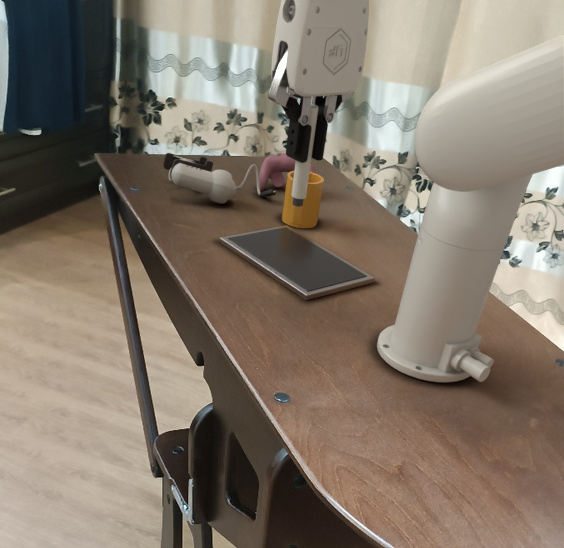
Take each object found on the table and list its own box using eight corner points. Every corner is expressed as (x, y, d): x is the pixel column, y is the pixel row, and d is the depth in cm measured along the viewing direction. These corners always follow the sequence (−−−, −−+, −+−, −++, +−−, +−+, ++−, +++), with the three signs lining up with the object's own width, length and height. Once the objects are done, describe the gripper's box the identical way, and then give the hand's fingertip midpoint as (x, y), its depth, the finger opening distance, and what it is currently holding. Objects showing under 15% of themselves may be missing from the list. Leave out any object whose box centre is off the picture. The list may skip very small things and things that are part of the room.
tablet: (373, 282, 103) (374, 276, 102) (305, 300, 96) (306, 294, 95) (286, 230, 113) (286, 224, 113) (219, 242, 106) (219, 236, 106)
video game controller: (312, 202, 128) (318, 160, 126) (312, 198, 124) (319, 155, 122) (257, 193, 128) (263, 151, 126) (256, 188, 124) (262, 145, 122)
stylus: (307, 206, 87) (321, 107, 80) (296, 208, 86) (310, 108, 79) (298, 201, 88) (311, 103, 81) (287, 203, 87) (299, 103, 80)
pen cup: (324, 225, 117) (331, 181, 112) (296, 230, 114) (303, 185, 109) (301, 212, 120) (307, 168, 115) (274, 217, 117) (279, 172, 112)
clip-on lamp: (257, 202, 129) (159, 174, 121) (267, 166, 125) (168, 134, 118) (273, 222, 120) (169, 192, 113) (285, 183, 116) (178, 150, 109)
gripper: (295, -33, 65) (273, 176, 78) (408, -26, 74) (372, 161, 86) (245, -46, 69) (231, 154, 81) (358, -38, 78) (330, 142, 90)
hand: (304, 156), depth 84 cm, fingers closed on stylus, 1 cm apart
